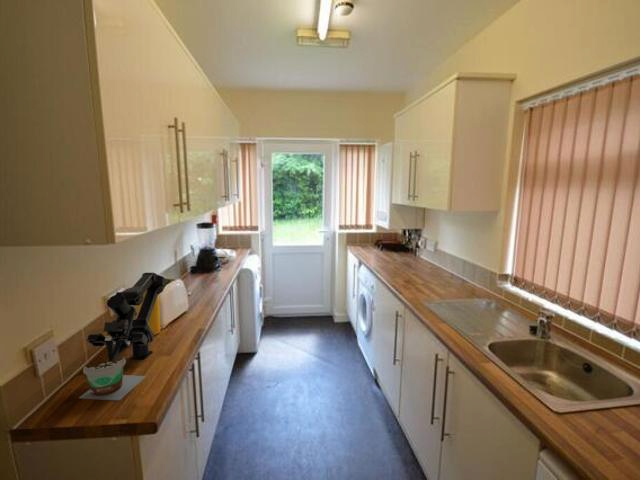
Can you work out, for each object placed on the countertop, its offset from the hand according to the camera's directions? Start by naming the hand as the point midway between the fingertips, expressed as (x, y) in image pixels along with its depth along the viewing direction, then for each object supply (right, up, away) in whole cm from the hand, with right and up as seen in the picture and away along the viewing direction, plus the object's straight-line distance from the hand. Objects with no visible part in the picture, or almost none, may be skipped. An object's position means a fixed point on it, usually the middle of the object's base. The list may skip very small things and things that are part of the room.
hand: (110, 363), depth 116 cm
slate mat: (+1, -9, +1) cm, 9 cm away
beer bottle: (-11, -3, +48) cm, 50 cm away
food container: (0, -9, -2) cm, 9 cm away
